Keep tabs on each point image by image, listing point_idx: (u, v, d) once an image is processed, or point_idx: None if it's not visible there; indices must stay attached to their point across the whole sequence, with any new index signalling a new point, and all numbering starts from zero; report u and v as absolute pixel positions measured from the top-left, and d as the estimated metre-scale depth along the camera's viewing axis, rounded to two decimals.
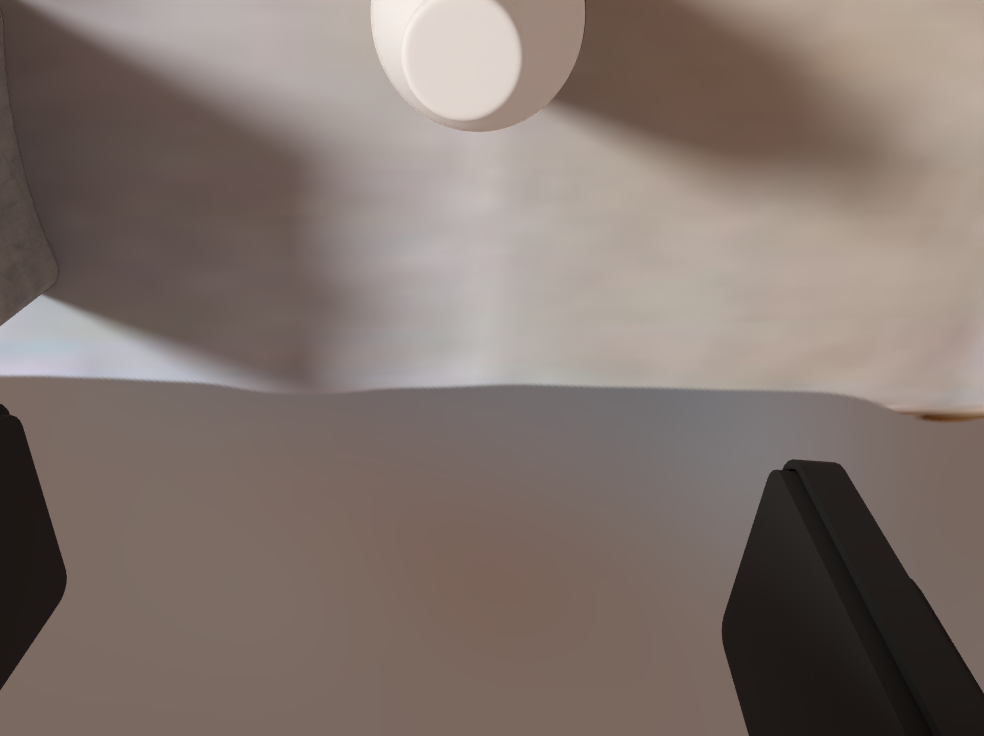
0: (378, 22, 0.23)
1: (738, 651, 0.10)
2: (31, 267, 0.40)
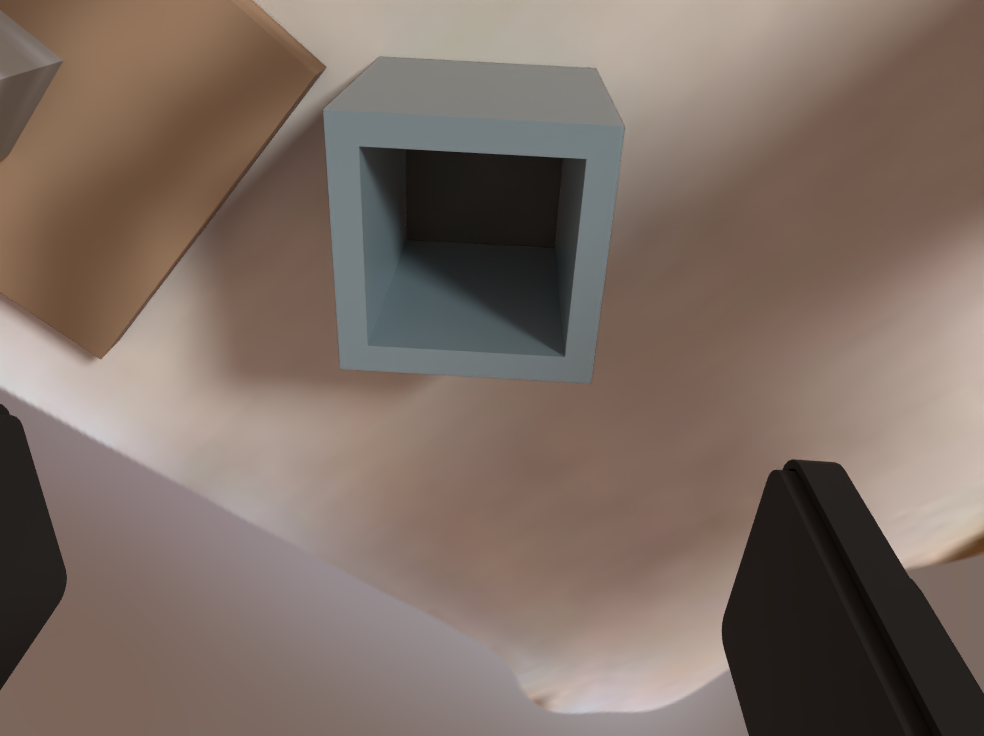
0: None
1: (738, 651, 0.10)
2: None
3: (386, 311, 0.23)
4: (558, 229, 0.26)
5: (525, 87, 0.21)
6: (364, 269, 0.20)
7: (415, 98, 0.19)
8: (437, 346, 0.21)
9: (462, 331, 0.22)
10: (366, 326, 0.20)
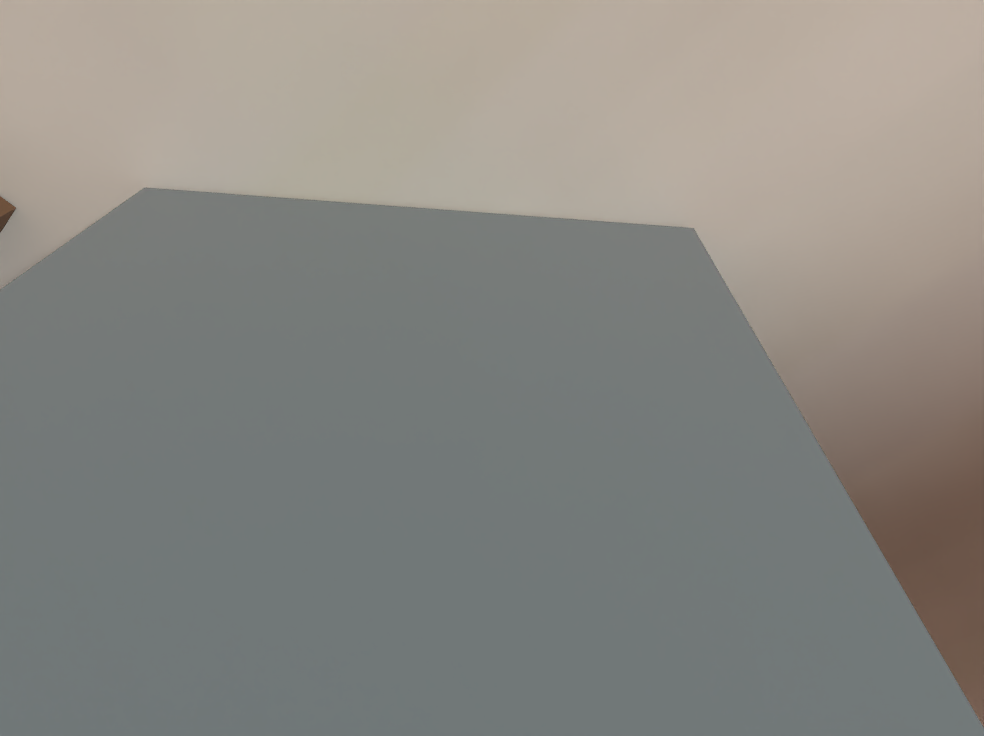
0: None
1: None
2: None
3: None
4: None
5: (513, 372, 0.06)
6: None
7: (22, 540, 0.04)
8: None
9: None
10: None
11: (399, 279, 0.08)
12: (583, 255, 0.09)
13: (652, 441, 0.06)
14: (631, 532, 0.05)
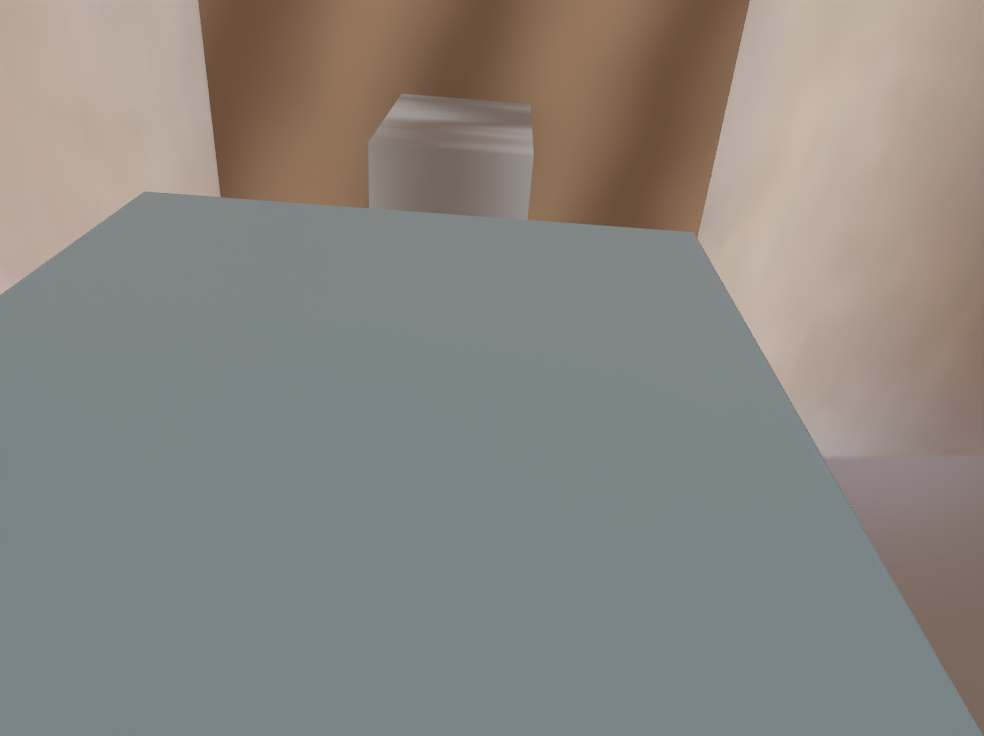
0: None
1: None
2: None
3: None
4: None
5: (513, 379, 0.06)
6: None
7: (22, 549, 0.04)
8: None
9: None
10: None
11: (399, 284, 0.08)
12: (583, 260, 0.09)
13: (652, 448, 0.06)
14: (631, 540, 0.05)
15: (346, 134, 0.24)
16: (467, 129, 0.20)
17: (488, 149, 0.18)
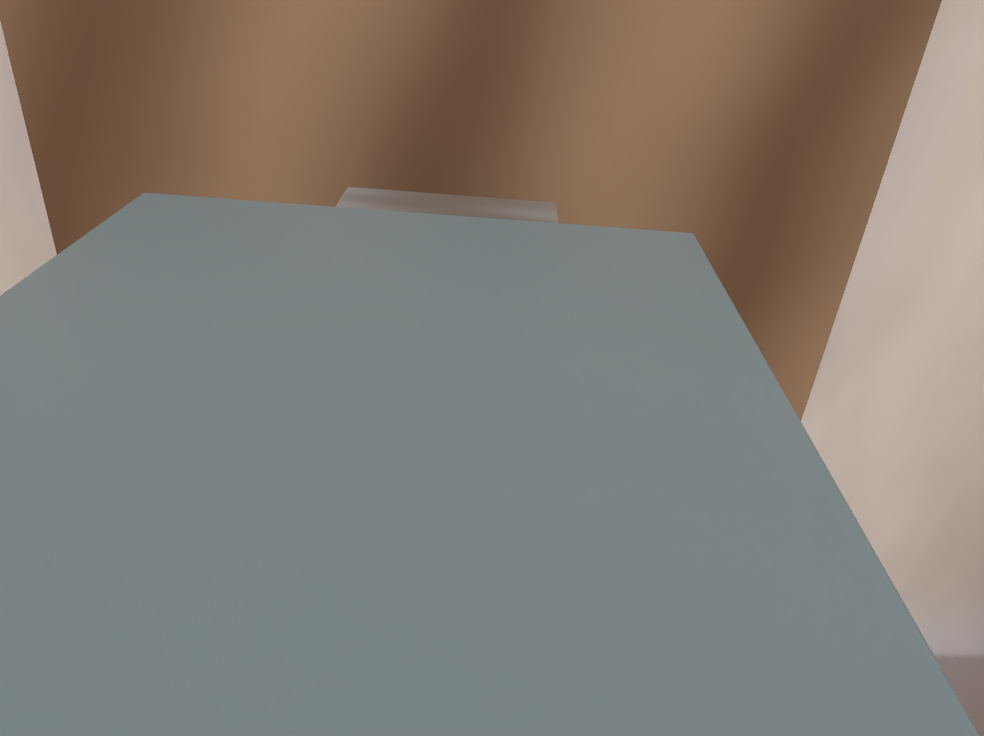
0: None
1: None
2: None
3: None
4: None
5: (512, 380, 0.06)
6: None
7: (21, 551, 0.04)
8: None
9: None
10: None
11: (398, 285, 0.08)
12: (582, 261, 0.09)
13: (651, 450, 0.06)
14: (630, 542, 0.05)
15: None
16: None
17: None
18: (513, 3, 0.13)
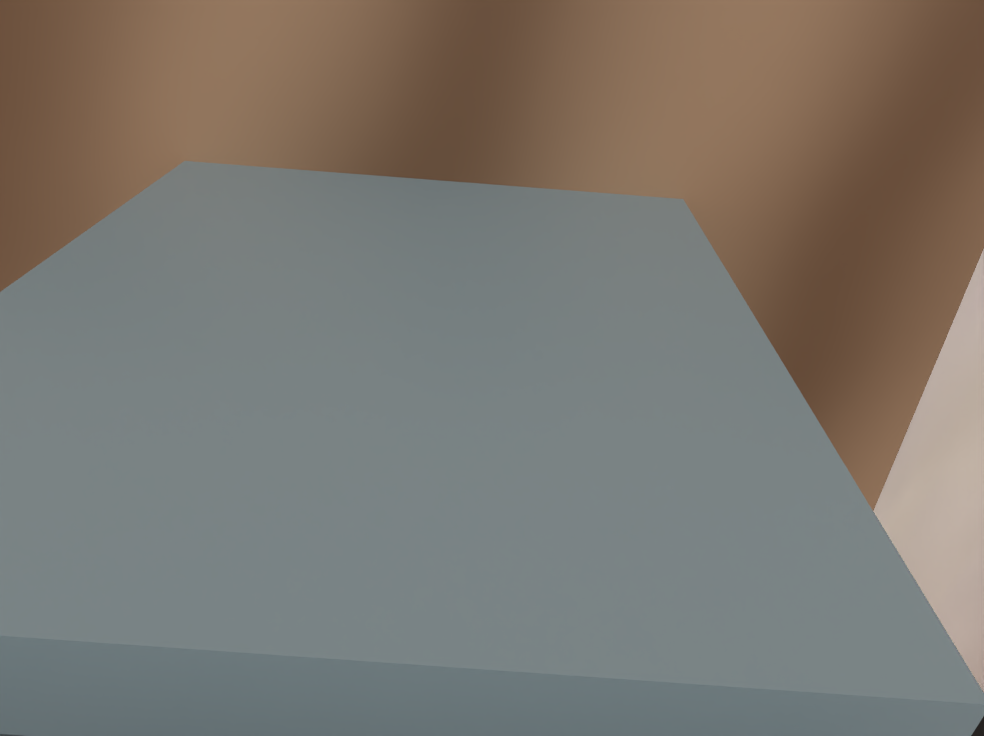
0: None
1: None
2: None
3: None
4: None
5: (522, 309, 0.07)
6: None
7: (125, 421, 0.05)
8: None
9: None
10: None
11: (420, 237, 0.09)
12: (583, 219, 0.10)
13: (642, 361, 0.07)
14: (623, 424, 0.06)
15: None
16: None
17: None
18: (503, 41, 0.10)
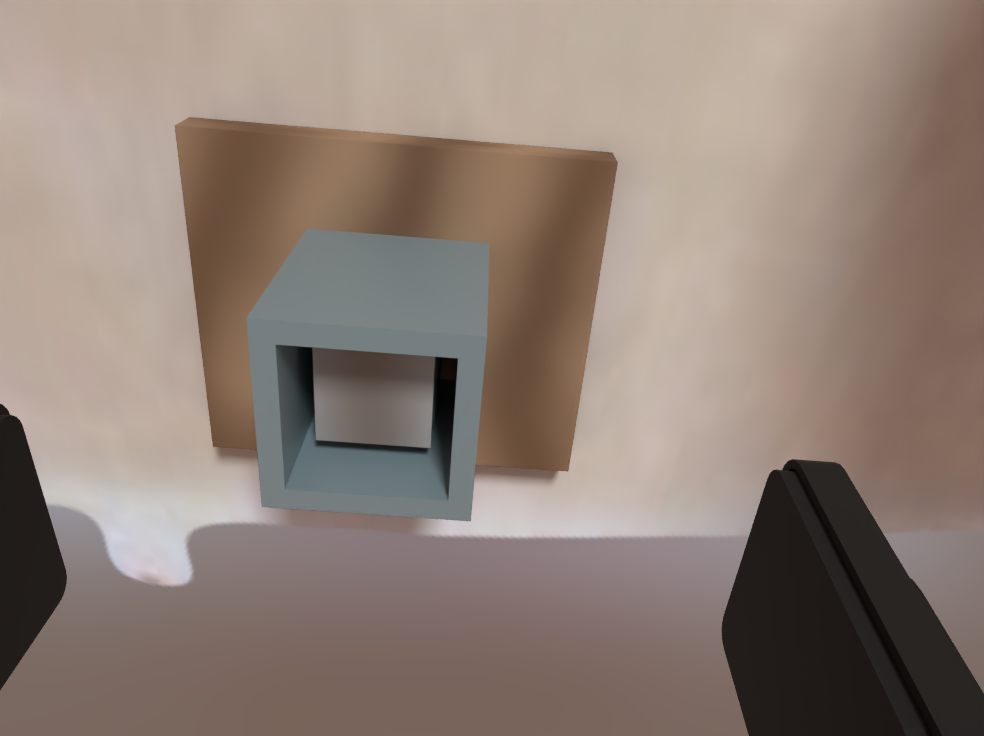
0: None
1: (738, 651, 0.10)
2: None
3: (305, 452, 0.27)
4: None
5: (420, 277, 0.26)
6: (281, 432, 0.24)
7: (325, 297, 0.24)
8: (343, 490, 0.25)
9: (366, 473, 0.26)
10: (283, 475, 0.25)
11: (392, 256, 0.27)
12: (448, 251, 0.28)
13: (449, 289, 0.25)
14: (439, 301, 0.24)
15: None
16: None
17: None
18: (421, 190, 0.28)
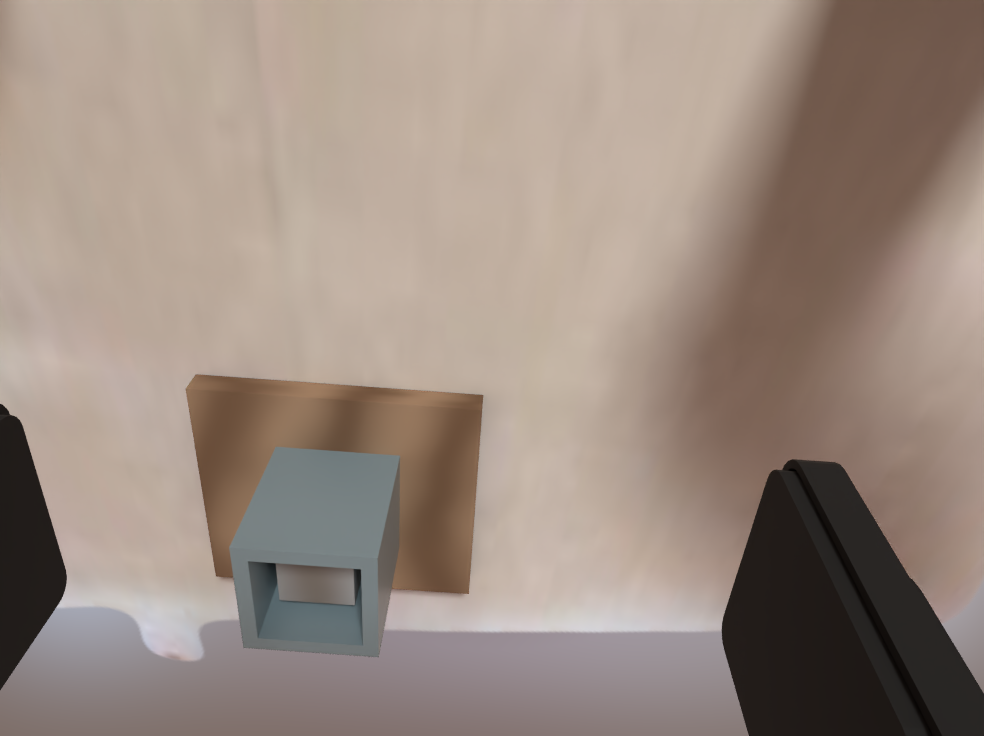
0: None
1: (738, 651, 0.10)
2: None
3: (273, 606, 0.41)
4: None
5: (345, 498, 0.39)
6: (254, 607, 0.38)
7: (280, 524, 0.37)
8: (295, 637, 0.39)
9: (312, 624, 0.40)
10: (256, 630, 0.39)
11: (330, 476, 0.41)
12: (369, 467, 0.42)
13: (362, 510, 0.39)
14: (353, 523, 0.38)
15: None
16: None
17: None
18: (351, 425, 0.42)
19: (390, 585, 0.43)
